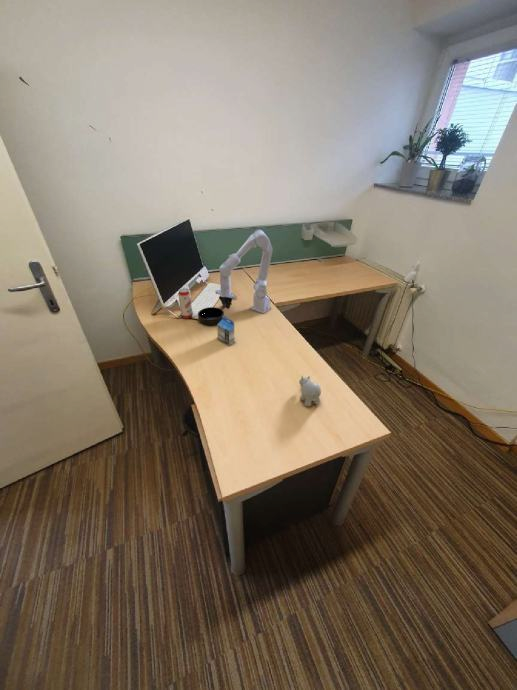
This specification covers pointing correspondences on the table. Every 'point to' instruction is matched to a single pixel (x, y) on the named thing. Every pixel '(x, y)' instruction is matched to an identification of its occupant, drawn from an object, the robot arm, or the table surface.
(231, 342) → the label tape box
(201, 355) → the table surface
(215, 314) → the pan
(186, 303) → the beer can
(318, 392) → the chubby cartoon animal
